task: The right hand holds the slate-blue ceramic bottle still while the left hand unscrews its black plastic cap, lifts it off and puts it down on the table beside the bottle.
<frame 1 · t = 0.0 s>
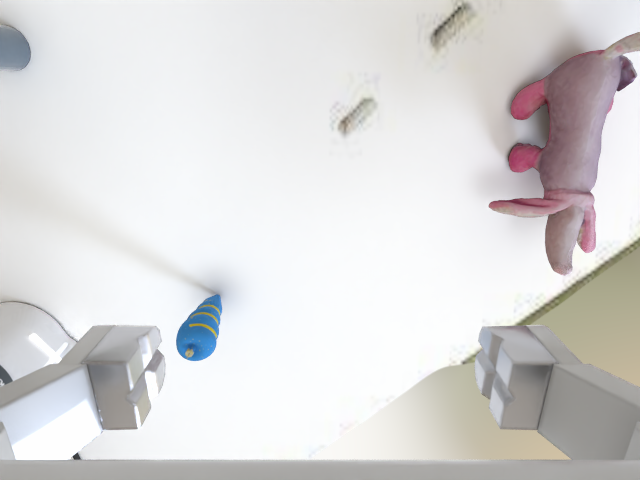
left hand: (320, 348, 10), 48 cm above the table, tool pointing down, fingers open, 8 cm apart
ornament: (217, 296, 64), on the table
bottle: (9, 48, 52), on the table
toy: (550, 153, 56), on the table
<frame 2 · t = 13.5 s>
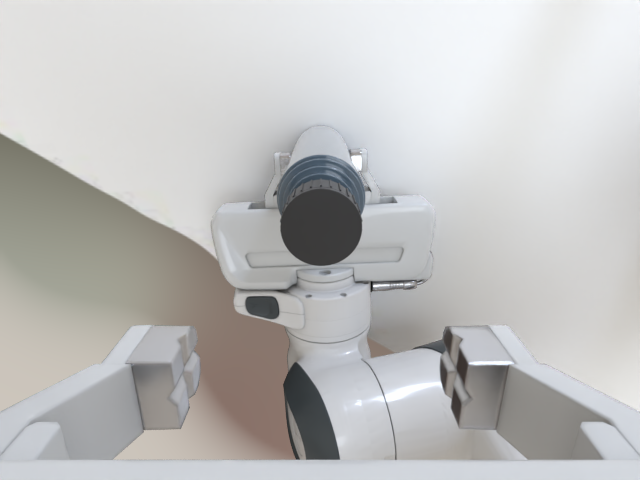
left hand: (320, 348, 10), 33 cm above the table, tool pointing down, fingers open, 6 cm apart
right hand: (319, 151, 36), fingers closed on bottle, 5 cm apart
cap: (321, 226, 20), point 23 cm above the table, screwed on, not yet turned
bottle: (320, 152, 41), on the table, touching right hand
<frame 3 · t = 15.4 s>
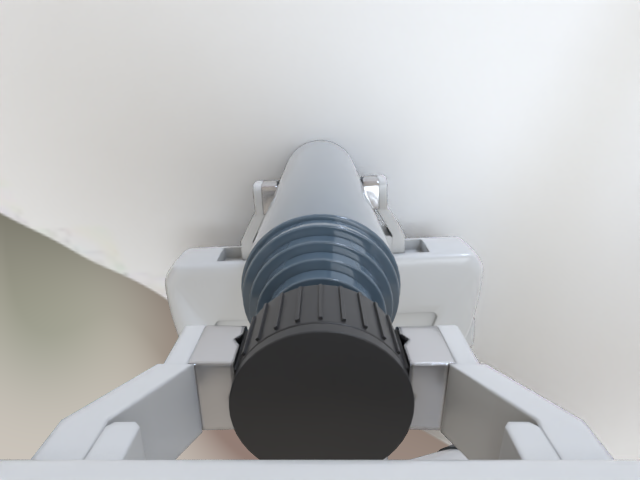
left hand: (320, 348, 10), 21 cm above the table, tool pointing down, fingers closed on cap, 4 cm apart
right hand: (319, 179, 25), fingers closed on bottle, 5 cm apart
cap: (321, 400, 9), point 23 cm above the table, screwed on, not yet turned, touching left hand
bottle: (320, 176, 30), on the table, touching right hand
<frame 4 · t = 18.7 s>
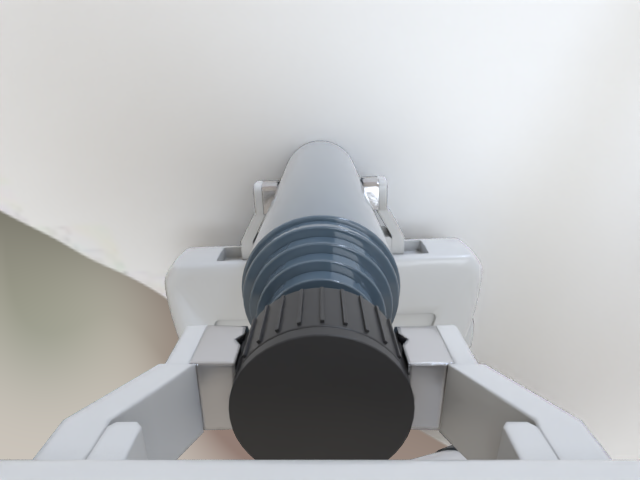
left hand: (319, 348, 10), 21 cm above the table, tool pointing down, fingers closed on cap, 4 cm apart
right hand: (319, 179, 25), fingers closed on bottle, 5 cm apart
cap: (321, 404, 9), point 23 cm above the table, turned 83° so far, risen 0.1 cm, still on its thread, touching left hand
bottle: (320, 176, 31), on the table, touching right hand
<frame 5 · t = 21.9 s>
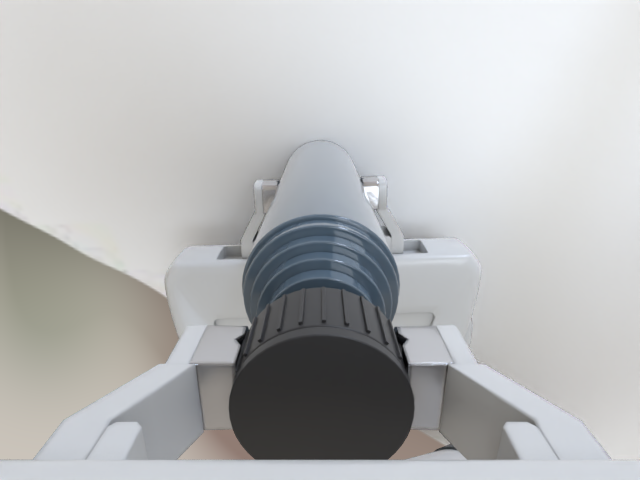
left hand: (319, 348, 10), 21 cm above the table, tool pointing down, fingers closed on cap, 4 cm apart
right hand: (319, 179, 25), fingers closed on bottle, 5 cm apart
cap: (321, 403, 9), point 23 cm above the table, turned 165° so far, risen 0.2 cm, still on its thread, touching left hand
bottle: (320, 176, 31), on the table, touching right hand
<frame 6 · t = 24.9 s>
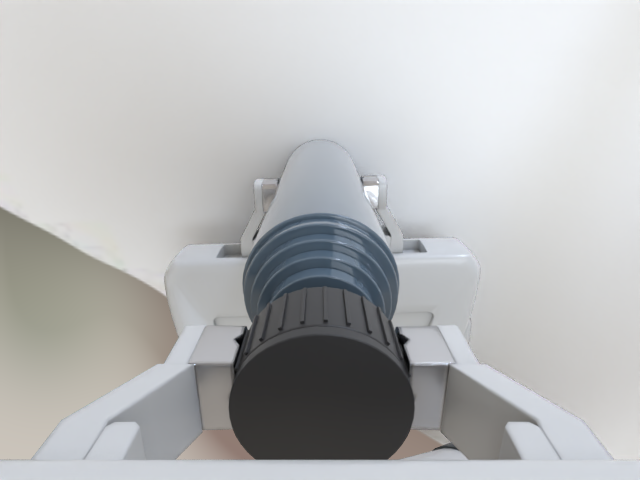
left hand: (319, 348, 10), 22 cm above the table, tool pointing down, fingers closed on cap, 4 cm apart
right hand: (319, 178, 25), fingers closed on bottle, 5 cm apart
cap: (321, 403, 9), point 23 cm above the table, turned 247° so far, risen 0.2 cm, still on its thread, touching left hand
bottle: (320, 175, 31), on the table, touching right hand
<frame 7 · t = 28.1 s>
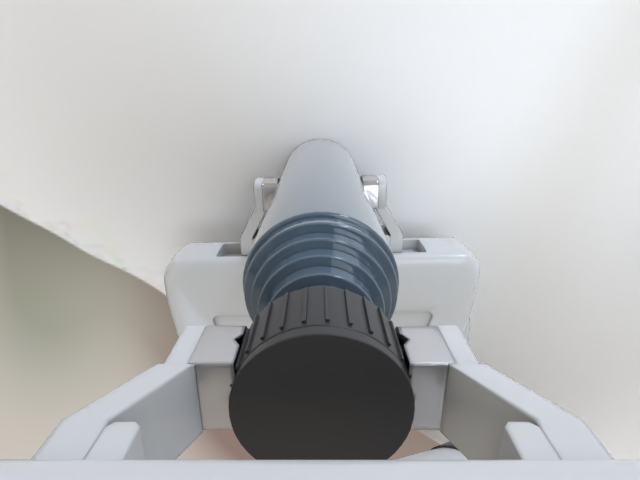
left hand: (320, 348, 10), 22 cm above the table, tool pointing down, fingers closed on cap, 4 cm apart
right hand: (319, 177, 26), fingers closed on bottle, 5 cm apart
cap: (321, 403, 9), point 24 cm above the table, turned 330° so far, risen 0.3 cm, still on its thread, touching left hand
bottle: (320, 174, 31), on the table, touching right hand
when the left hand's fingers open (2 cm above the table, at t = 38.6 s): cap drops 2 cm, point 2 cm above the table.
when the right hand's fingers open (5 cm above the table, at t = 39.8 s): bottle stays where it is, on the table.
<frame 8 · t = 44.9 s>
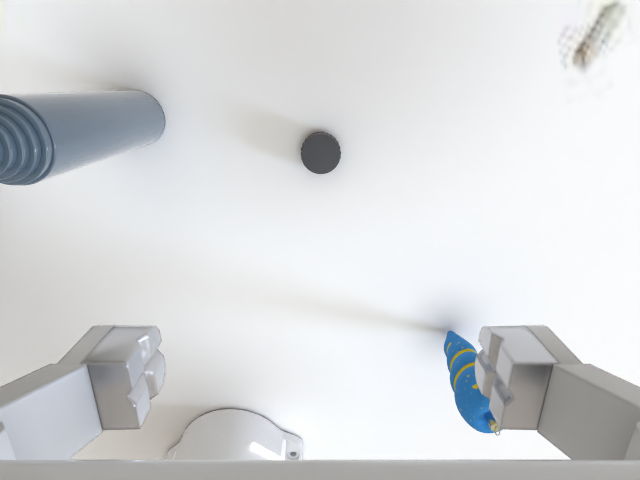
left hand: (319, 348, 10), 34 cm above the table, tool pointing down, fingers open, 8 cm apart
cap: (320, 154, 41), point 2 cm above the table, off its thread
ornament: (449, 333, 50), on the table
bottle: (138, 118, 41), on the table
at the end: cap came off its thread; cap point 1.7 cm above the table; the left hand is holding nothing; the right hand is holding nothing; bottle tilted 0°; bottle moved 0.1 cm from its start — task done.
